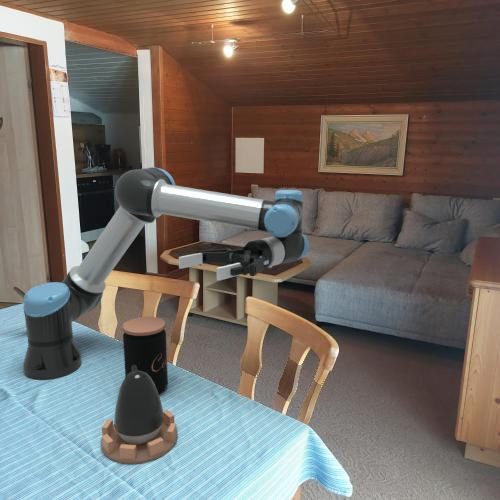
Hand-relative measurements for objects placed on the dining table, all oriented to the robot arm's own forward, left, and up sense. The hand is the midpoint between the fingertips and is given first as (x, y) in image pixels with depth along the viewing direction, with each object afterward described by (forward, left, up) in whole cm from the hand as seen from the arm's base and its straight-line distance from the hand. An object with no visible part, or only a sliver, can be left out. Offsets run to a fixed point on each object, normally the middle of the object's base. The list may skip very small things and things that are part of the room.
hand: (197, 268), depth 102 cm
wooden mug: (-72, -17, -35) cm, 82 cm away
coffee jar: (-16, -6, -35) cm, 39 cm away
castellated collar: (+2, -17, -35) cm, 39 cm away
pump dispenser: (+2, -17, -34) cm, 38 cm away
